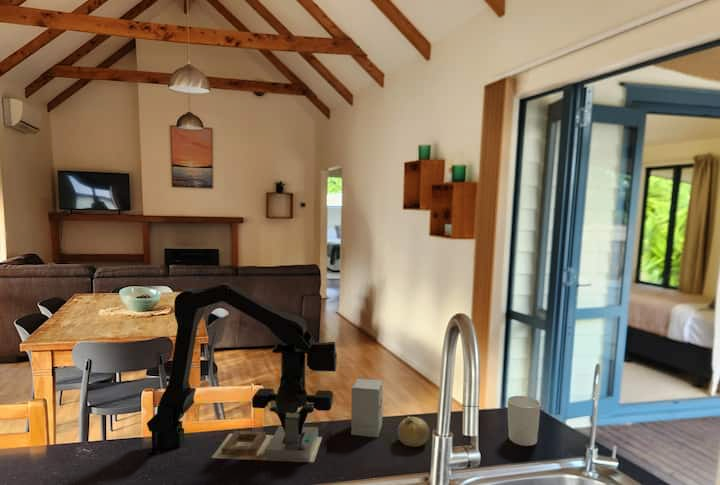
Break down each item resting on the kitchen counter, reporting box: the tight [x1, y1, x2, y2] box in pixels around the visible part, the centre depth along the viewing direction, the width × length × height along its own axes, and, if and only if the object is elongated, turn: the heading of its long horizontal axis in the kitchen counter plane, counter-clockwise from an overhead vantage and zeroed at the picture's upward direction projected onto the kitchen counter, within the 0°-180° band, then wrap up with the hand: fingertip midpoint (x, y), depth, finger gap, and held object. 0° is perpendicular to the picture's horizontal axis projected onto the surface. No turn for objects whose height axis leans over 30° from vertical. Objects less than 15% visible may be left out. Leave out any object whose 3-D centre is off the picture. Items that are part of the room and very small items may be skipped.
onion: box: [397, 415, 430, 448], centre depth 118 cm, size 8×8×7 cm
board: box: [210, 433, 323, 463], centre depth 113 cm, size 24×12×1 cm, turn 86°
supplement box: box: [350, 378, 383, 438], centre depth 124 cm, size 7×7×13 cm
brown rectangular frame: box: [222, 430, 267, 456], centre depth 114 cm, size 8×9×2 cm
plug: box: [285, 409, 301, 444], centre depth 113 cm, size 3×4×8 cm, turn 176°
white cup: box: [507, 395, 541, 447], centre depth 119 cm, size 8×8×10 cm
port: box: [265, 425, 319, 463], centre depth 113 cm, size 10×12×3 cm
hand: (293, 433), depth 113 cm, fingers closed on plug, 3 cm apart
